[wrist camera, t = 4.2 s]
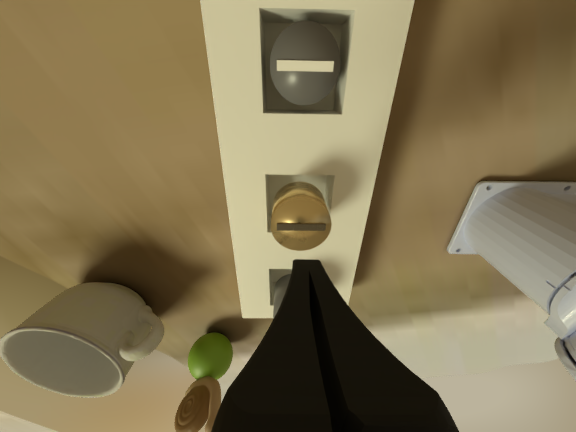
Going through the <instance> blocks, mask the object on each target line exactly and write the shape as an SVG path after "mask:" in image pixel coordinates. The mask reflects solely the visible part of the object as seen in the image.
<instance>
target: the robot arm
mask: <svg viewBox="0 0 576 432" xmlns="http://www.w3.org/2000/svg"><path fill="white" fill-rule="evenodd" d="M487 186H489V187H488V188H487ZM447 251H448V252H449V253H450V254H479V255H480V256H482V257H483V258H484V259H485V260H486V261H487V262H489V263H490V264H491V265H492V266H493V267H494V268H496V269H497V270H498V271H499V272H500V273H501V274H502V275H504V276H505V277H506V278H507V279H508V280H509V281H511V282H512V283H513V284H514V285H515V286H516V287H517V288H519V289H520V290H521V291H522V292H523V293H524V294H526V295H527V296H528V297H529V298H530V299H531V300H533V301H534V302H535V303H536V304H537V305H538V306H539V307H541V308H542V309H543V310H544V311H545V312H546V313H548V314H549V315H550V316H549V317H548V319H547V320H546V321H545V322H544V324H545V325H546V326H547V327H548V328H550V329H551V330H552V331H553V332H554V333H555V334H556V335H557V336H558V338H557V339H556V341H555V350H556V353H557V355H558V357H559V359H560V361H561V362H562V364H563V365H564V367H565V368H566V370H567V371H568V373H569V374H570V375H571V377H572V378H573V379H574V380H575V381H576V182H539V181H481V182H479V183H478V184H477V185H476V186H475V188H474V191H473V193H472V195H471V197H470V199H469V201H468V204H467V206H466V208H465V210H464V212H463V215H462V217H461V219H460V221H459V223H458V225H457V228H456V230H455V232H454V234H453V236H452V239H451V241H450V243H449V245H448V247H447ZM211 432H459V431H458V429H457V427H456V425H455V423H454V421H453V419H452V417H451V415H450V413H449V411H448V409H447V407H446V406H445V404H444V403H443V401H442V400H441V398H440V396H439V394H438V393H437V392H436V391H435V390H434V389H433V388H431V387H430V386H429V385H428V384H426V383H425V382H424V381H423V380H422V379H420V378H419V377H418V376H417V375H415V374H414V373H413V372H412V371H410V370H409V369H408V368H407V367H406V366H405V365H404V364H403V363H401V362H400V361H399V360H398V359H397V358H396V357H395V356H394V355H393V354H392V353H391V352H390V351H389V350H388V349H387V348H386V347H385V346H384V345H383V344H382V343H381V342H380V341H379V340H378V339H376V338H375V336H374V335H373V334H372V333H371V332H370V331H369V330H368V329H367V328H366V327H365V326H364V324H363V323H362V322H361V321H360V320H359V319H358V317H357V316H356V315H355V314H354V312H353V311H352V310H351V309H350V307H349V306H348V305H347V303H346V302H345V301H344V299H343V298H342V296H341V295H340V294H339V292H338V290H337V289H336V287H335V286H334V284H333V283H332V281H331V280H330V278H329V276H328V274H327V273H326V271H325V269H324V267H323V265H322V263H321V261H320V260H310V259H295V260H293V264H292V272H291V277H290V280H289V283H288V286H287V290H286V292H285V295H284V297H283V300H282V302H281V305H280V307H279V309H278V311H277V313H276V315H275V317H274V319H273V321H272V323H271V325H270V327H269V329H268V331H267V332H266V334H265V336H264V338H263V339H262V341H261V343H260V344H259V346H258V347H257V349H256V350H255V352H254V353H253V355H252V356H251V358H250V359H249V361H248V362H247V364H246V365H245V367H244V368H243V369H242V371H241V372H240V373H239V375H238V376H237V377H236V379H235V380H234V381H233V383H232V384H231V386H230V387H229V388H228V390H227V392H226V394H225V396H224V399H223V401H222V403H221V405H220V408H219V410H218V412H217V415H216V418H215V420H214V424H213V427H212V430H211Z"/></svg>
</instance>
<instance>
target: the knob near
mask: <svg viewBox="0 0 576 432" xmlns="http://www.w3.org/2000/svg"><path fill="white" fill-rule="evenodd" d="M340 62H341V60H340V51H339V47H338V44H337V42H336V40H335V38H334V36H333V35H332V33H331V32H330V31H329V30H328V29H327V28H326V27H325V26H323V25H322V24H320V23H317V22H314V21H309V20H305V21H299V22H296V23H293V24H291V25H290V26H288V27H287V28H286V29H284V30H283V31H282V32H281V34H280V35H279V36H278V38H277V39H276V41H275V43H274V46H273V48H272V52H271V56H270V73H271V77H272V81H273V83H274V85H275V87H276V89H277V91H278V92H279V93H280V94H281V95H282V96H283V97H284V98H285V99H286V100H288V101H289V102H291V103H294V104H297V105H311V104H314V103H317V102H319V101H320V100H322V99H323V98H325V97H326V96H327V95H328V94H329V93H330V91H331V90H332V89H333V87H334V85H335V83H336V81H337V79H338V75H339V72H340Z"/></svg>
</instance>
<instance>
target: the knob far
mask: <svg viewBox="0 0 576 432" xmlns="http://www.w3.org/2000/svg"><path fill="white" fill-rule="evenodd" d="M290 277H291V274H287V275H285V276H283V277H281V278H280V279H279V280H278V281H277V282H276V284H275V291H274V309H273V318H274V317H275V315H276V313H277V311H278V309H279V307H280V305H281V302H282V300H283V297H284V295H285V292H286V290H287V286H288V283H289V280H290Z"/></svg>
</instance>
